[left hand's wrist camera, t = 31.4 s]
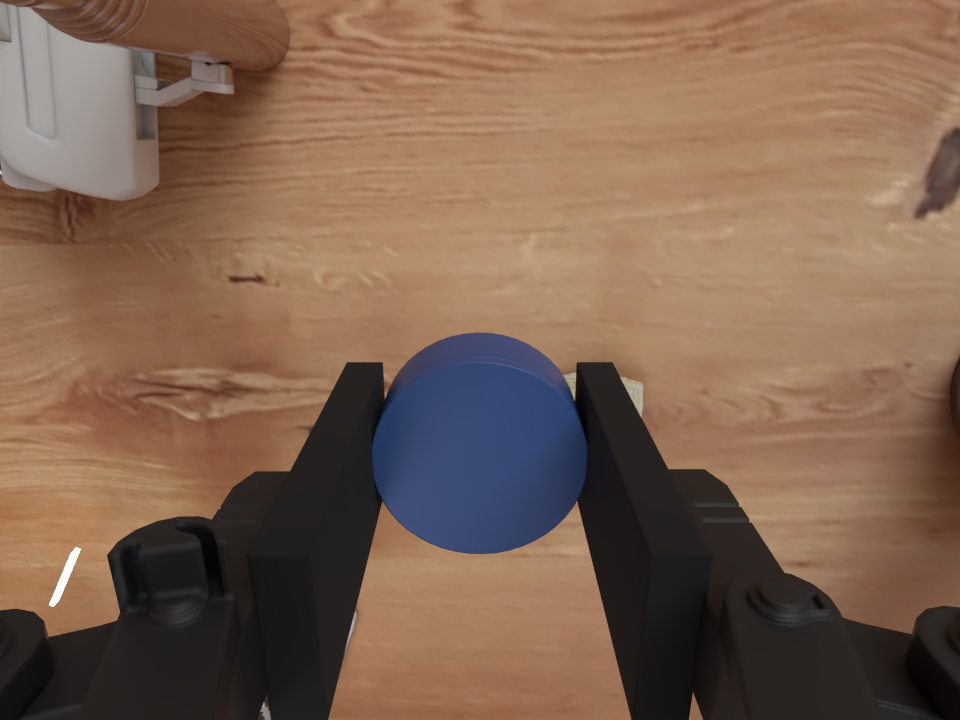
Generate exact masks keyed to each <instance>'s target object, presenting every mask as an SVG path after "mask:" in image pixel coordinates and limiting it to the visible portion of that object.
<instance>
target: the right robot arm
mask: <svg viewBox="0 0 960 720" xmlns="http://www.w3.org/2000/svg"><path fill="white" fill-rule="evenodd" d="M204 91H207V92H214V93H222V94H234V66H229V65H223V64H216V63H211V64H210V63H205V62H199V61H193V60H191V76H189V77H187V78H185V79H183V80H180V81H178V82H176V83H174V82H173V81H172V80H168V79H162V78H156V55H155V54H152V53H147V52H141V51H135V50H129V49H124V48H118V47H112V46H106V45H100V44H95V43H89V42H85V41H81V40H78V39H76V38H73V37H71V36H69V35H67V34H65V33H63V32H61V31H59V30H57V29H56V28H54V27H53V26H51V25H50V24H49V23H48V22H46V21H45V20H44V19H43V18H42V17H40V16H39V15H38V14H37V13H35V12H34V11H33V10H32V9H31V8H29V7H17V6H13V5H7V4H4V3H1V2H0V164H1V165H0V178H1V179H2V180H3V181H4V183H5V184H7V185H9V186H11V187H14V188H17V189H20V190H28V191H35V192H43V193H48V192H53V191H56V190H58V189H59V188H60V189H64V190H68V191H71V192H75V193H79V194H84V195H88V196H93V197H98V198H103V199H109V200H116V201H123V200H131V199H136V198H139V197H142V196H144V195H146V194H147V193H149V192H150V191H151V190H153V189H154V188H155V187H156V186H158V184H159V178H160V175H159V145H158V115H157V106H177V105H179V104H181V103H183V102H185V101H187V100H190V99H192V98H194V97H196V96H198V95H200V94H202V93H204ZM79 551H80V549H79V548H76V549H75V550H74V551H73V552H72V553H71V554H70V557H69V559H68V562H67V564H66V566H65V569H64V571H63V574H62V576H61V579H60V581H59V583H58V586H57V588H56V591H55V593H54V595H53V598H52V600H51V603H50V605H51V606H54V605H55V604H56V603H57V602H58V601H59V599H60V597H61V594H62V592H63V589H64V587H65V585H66V582H67V580H68V578H69V575H70V573H71V570H72V568H73V566H74V563H75V561H76V559H77V556H78V554H79ZM356 620H357V612H356V611H355V613H354V617H353V621H352V625H351V629H350V633H349V637H348V641H347V645H346V649H347V646H348V644H349V641H350V638H351V635H352V632H353V629H354V626H355V623H356ZM346 649H345V652H346ZM344 655H345V653H344ZM343 658H344V657H343ZM257 720H271V717H270V710H269V704H268V697H267V695H266V697H265V700H264V703H263V706H262V708H261V711H260V714H259V717H258V719H257Z"/></svg>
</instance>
